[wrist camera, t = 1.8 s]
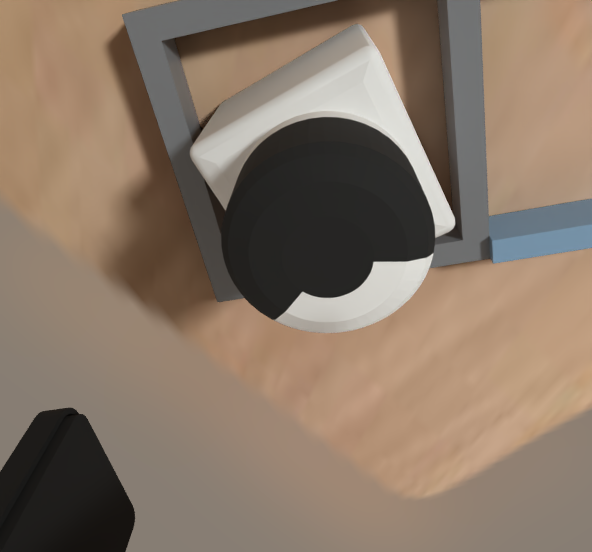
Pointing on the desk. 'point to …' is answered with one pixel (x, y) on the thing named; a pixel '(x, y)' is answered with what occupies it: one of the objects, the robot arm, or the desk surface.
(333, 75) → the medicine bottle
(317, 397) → the desk surface
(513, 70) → the desk surface
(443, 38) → the frame
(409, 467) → the desk surface
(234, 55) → the desk surface
